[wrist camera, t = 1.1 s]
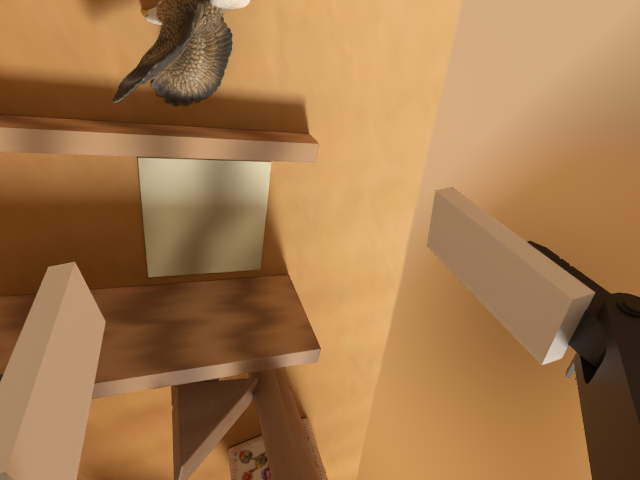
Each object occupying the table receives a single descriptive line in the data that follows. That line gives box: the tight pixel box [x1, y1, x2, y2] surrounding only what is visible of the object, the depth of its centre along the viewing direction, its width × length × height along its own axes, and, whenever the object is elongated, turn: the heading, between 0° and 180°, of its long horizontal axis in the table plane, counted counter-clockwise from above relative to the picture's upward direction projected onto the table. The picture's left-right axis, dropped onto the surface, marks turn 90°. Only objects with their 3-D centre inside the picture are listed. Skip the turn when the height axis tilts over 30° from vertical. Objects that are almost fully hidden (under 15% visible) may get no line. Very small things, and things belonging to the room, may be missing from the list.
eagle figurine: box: [113, 0, 250, 106], centre depth 23 cm, size 8×7×9 cm
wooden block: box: [171, 367, 320, 480], centre depth 34 cm, size 4×11×18 cm, turn 71°
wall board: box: [0, 115, 321, 399], centre depth 27 cm, size 24×16×10 cm, turn 80°
